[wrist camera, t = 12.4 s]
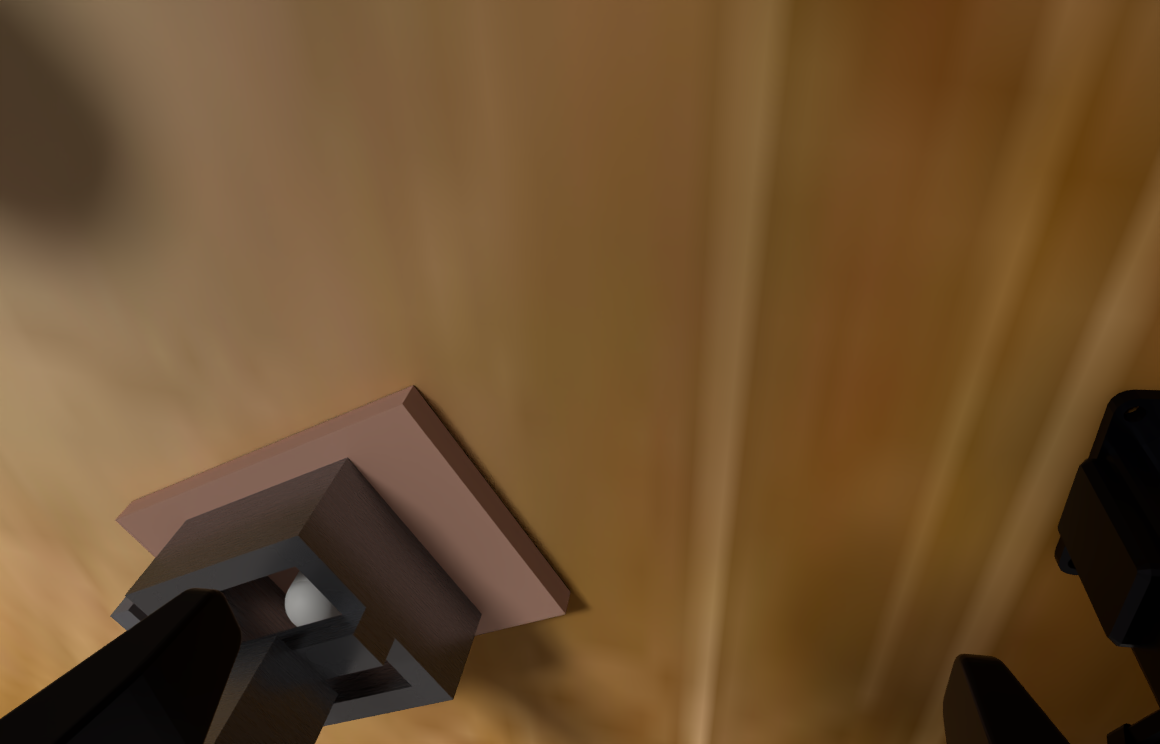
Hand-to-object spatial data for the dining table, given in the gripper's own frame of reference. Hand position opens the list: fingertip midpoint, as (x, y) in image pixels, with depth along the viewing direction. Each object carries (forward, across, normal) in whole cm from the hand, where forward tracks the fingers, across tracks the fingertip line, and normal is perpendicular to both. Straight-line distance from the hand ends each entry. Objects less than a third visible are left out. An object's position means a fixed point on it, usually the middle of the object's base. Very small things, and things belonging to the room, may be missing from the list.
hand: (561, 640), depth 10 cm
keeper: (+13, +12, +13) cm, 22 cm away
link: (+12, +12, +13) cm, 21 cm away
